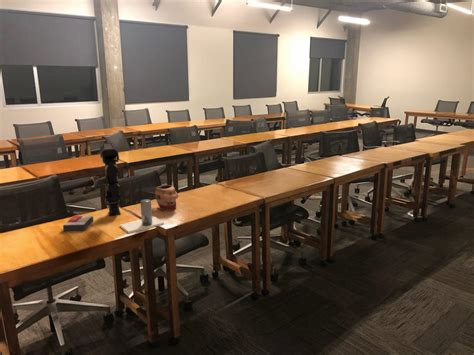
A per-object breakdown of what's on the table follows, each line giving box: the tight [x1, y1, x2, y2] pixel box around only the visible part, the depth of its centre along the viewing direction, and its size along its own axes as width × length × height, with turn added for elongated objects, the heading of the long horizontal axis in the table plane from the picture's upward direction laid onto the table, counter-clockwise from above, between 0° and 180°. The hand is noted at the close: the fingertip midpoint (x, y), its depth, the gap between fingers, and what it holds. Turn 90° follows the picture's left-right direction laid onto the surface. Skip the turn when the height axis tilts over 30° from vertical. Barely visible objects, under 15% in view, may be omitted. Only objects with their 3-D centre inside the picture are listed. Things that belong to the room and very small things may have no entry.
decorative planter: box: [154, 184, 179, 211], centre depth 231 cm, size 20×12×14 cm, turn 51°
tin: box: [140, 198, 153, 226], centre depth 203 cm, size 6×6×13 cm
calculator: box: [62, 215, 94, 233], centre depth 206 cm, size 11×4×15 cm
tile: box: [119, 215, 165, 234], centre depth 205 cm, size 20×12×1 cm, turn 128°
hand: (114, 199), depth 208 cm, fingers closed
